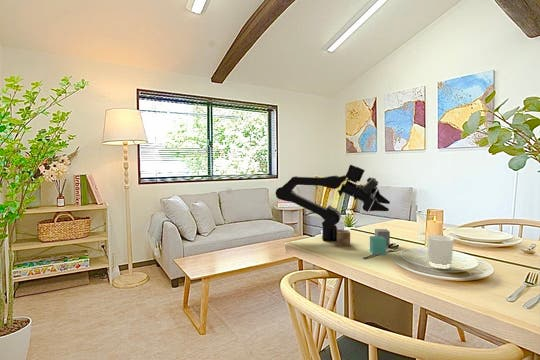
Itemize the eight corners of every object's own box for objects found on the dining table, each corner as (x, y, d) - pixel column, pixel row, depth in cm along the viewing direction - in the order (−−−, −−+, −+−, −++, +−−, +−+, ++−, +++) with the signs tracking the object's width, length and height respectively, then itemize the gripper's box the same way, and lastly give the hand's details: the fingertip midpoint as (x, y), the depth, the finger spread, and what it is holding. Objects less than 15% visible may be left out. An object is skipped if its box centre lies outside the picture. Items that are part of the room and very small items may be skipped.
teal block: (372, 254, 121) (372, 239, 121) (369, 250, 126) (369, 236, 126) (385, 254, 121) (386, 239, 120) (382, 250, 126) (382, 236, 125)
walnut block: (338, 246, 132) (338, 232, 132) (336, 243, 137) (336, 230, 137) (350, 246, 132) (350, 232, 132) (348, 243, 137) (348, 230, 136)
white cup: (443, 272, 102) (444, 242, 101) (421, 265, 109) (422, 236, 108) (457, 268, 105) (458, 238, 105) (436, 261, 112) (436, 234, 112)
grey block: (377, 245, 134) (377, 231, 133) (374, 242, 139) (374, 229, 138) (389, 245, 133) (389, 231, 133) (386, 242, 138) (386, 229, 138)
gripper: (359, 180, 128) (397, 197, 124) (365, 170, 144) (398, 184, 140) (348, 203, 132) (384, 220, 128) (355, 190, 148) (387, 205, 144)
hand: (389, 206), depth 135 cm, fingers open, 9 cm apart
